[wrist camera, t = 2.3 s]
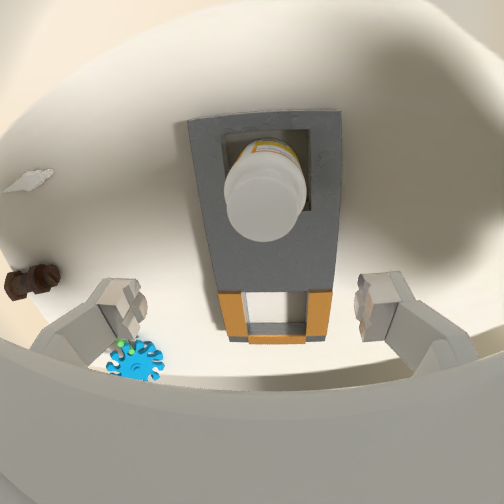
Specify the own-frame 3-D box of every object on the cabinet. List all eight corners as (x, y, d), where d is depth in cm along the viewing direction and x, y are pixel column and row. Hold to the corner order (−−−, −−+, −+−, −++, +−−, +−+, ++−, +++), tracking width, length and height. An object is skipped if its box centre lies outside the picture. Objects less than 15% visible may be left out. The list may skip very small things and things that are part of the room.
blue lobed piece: (173, 377, 41) (124, 400, 36) (160, 358, 46) (114, 379, 40) (152, 329, 37) (94, 355, 31) (140, 311, 41) (88, 334, 36)
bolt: (69, 264, 35) (27, 277, 37) (46, 249, 30) (8, 266, 33) (62, 299, 32) (21, 306, 35) (37, 287, 28) (1, 296, 30)
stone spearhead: (53, 159, 23) (43, 165, 22) (59, 179, 25) (49, 186, 23) (3, 181, 26) (-5, 187, 24) (8, 196, 27) (0, 202, 26)
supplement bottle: (257, 204, 25) (245, 265, 17) (226, 155, 23) (195, 194, 15) (309, 179, 23) (326, 231, 15) (281, 125, 21) (282, 146, 13)
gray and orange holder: (335, 109, 19) (341, 111, 18) (323, 329, 33) (325, 342, 31) (194, 118, 21) (186, 121, 19) (232, 330, 35) (229, 343, 33)
